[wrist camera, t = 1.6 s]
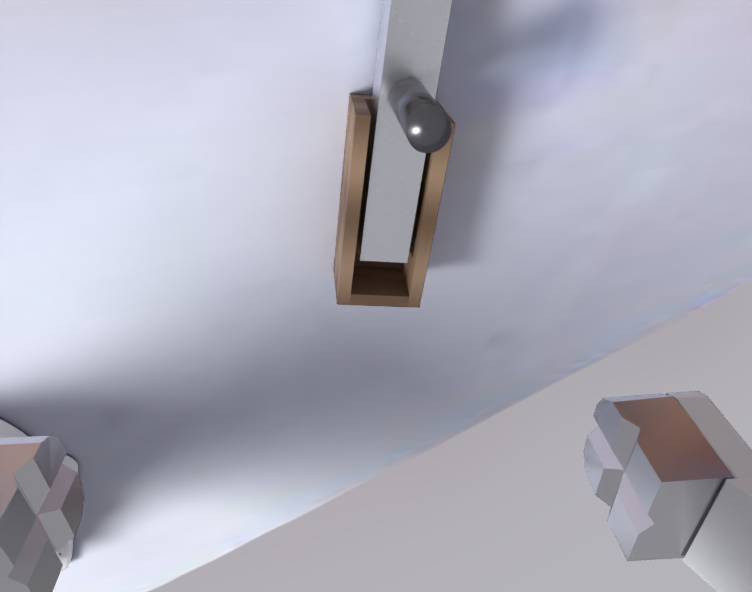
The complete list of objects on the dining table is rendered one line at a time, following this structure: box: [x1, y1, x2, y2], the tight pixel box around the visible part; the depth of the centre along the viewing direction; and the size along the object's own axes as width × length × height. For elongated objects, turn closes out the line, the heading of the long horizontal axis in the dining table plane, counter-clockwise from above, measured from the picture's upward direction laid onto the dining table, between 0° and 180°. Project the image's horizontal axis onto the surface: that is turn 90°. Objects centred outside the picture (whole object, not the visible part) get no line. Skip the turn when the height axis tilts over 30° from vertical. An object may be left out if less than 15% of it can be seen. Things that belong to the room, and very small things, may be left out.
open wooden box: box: [334, 94, 455, 307], centre depth 35 cm, size 12×5×4 cm, turn 173°
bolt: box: [357, 0, 452, 263], centre depth 29 cm, size 16×3×9 cm, turn 173°
